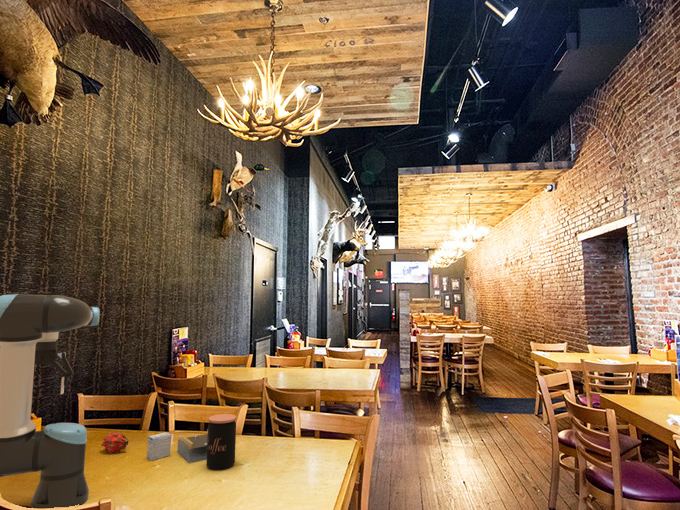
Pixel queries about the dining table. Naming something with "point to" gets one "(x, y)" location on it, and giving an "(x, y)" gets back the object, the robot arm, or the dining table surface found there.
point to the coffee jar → (221, 441)
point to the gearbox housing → (193, 447)
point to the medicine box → (158, 446)
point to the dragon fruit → (115, 442)
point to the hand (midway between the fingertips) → (41, 395)
